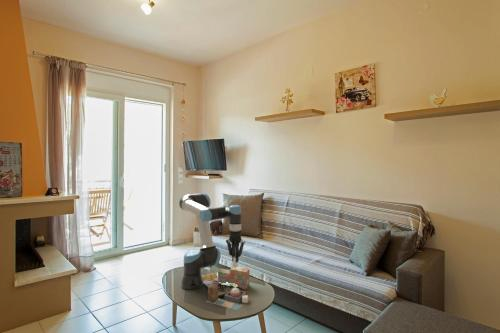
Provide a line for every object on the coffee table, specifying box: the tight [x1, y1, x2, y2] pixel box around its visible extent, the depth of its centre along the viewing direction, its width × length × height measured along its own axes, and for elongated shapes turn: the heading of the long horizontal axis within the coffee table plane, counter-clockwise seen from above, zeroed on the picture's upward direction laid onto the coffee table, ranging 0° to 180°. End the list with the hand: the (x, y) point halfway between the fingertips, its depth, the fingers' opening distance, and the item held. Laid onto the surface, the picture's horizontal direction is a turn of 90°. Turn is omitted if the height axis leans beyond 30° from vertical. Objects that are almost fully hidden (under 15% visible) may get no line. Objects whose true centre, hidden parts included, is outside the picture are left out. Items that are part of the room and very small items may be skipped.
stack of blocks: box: [217, 266, 250, 290], centre depth 203 cm, size 21×6×12 cm, turn 71°
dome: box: [229, 287, 242, 297], centre depth 185 cm, size 7×7×5 cm
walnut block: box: [207, 283, 219, 303], centre depth 182 cm, size 4×4×9 cm
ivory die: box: [241, 294, 249, 304], centre depth 181 cm, size 3×3×3 cm
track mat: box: [206, 297, 243, 311], centre depth 178 cm, size 22×7×1 cm, turn 64°
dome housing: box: [224, 289, 247, 304], centre depth 185 cm, size 10×10×3 cm
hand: (235, 266), depth 184 cm, fingers closed
